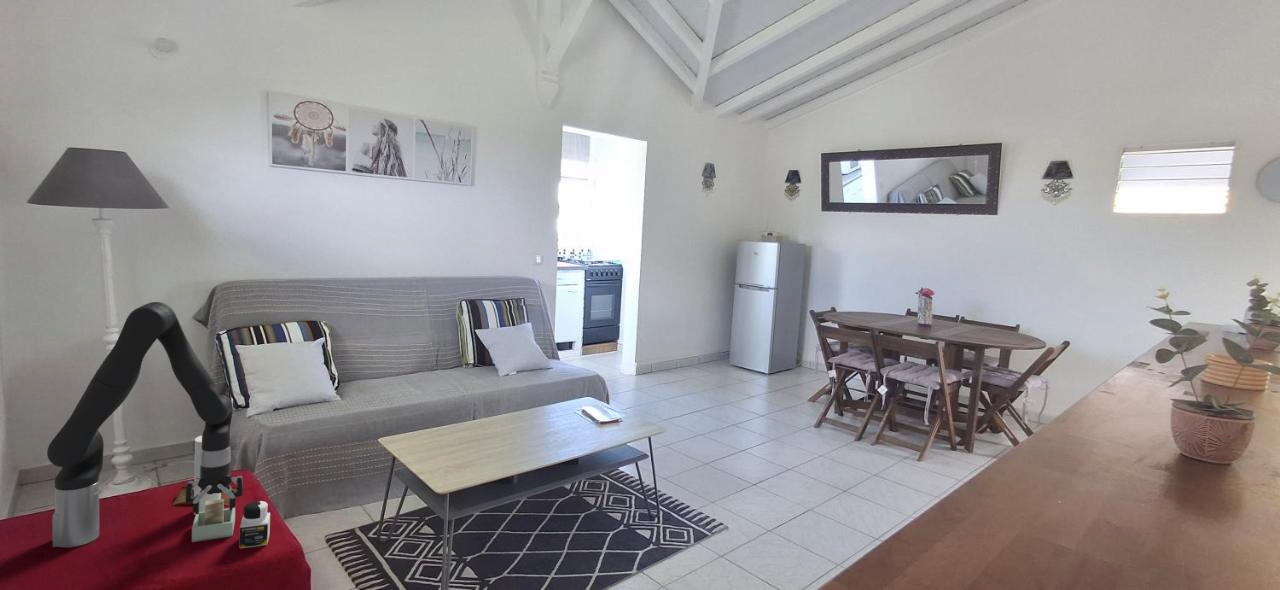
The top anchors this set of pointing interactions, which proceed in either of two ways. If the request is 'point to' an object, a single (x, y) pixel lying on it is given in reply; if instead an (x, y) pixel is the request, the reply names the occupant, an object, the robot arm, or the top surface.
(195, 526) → the open box
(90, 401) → the robot arm
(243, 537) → the medicine bottle
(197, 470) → the cylindrical container
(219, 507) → the beige wooden block
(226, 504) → the sunglasses case
